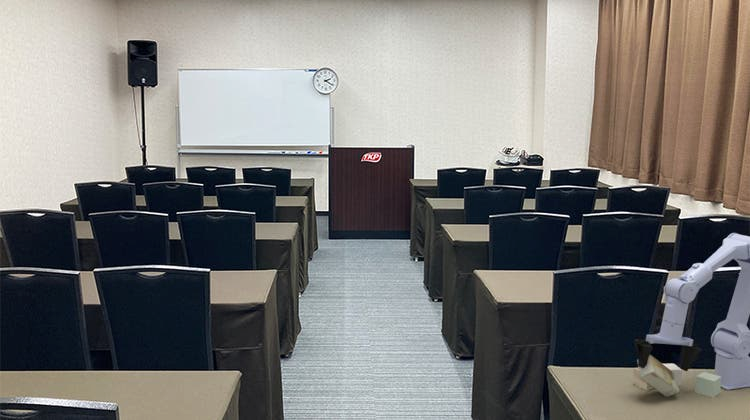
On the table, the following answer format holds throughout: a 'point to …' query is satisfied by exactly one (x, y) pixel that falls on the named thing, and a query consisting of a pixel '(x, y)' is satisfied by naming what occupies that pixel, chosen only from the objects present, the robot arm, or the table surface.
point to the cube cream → (675, 370)
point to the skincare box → (659, 377)
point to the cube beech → (640, 380)
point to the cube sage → (708, 384)
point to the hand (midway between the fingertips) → (663, 368)
